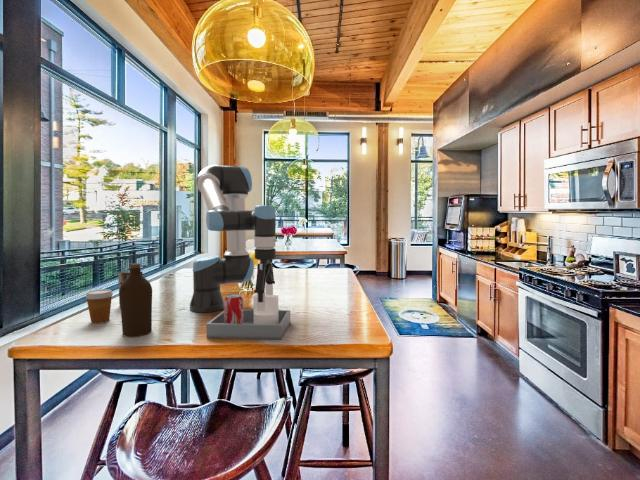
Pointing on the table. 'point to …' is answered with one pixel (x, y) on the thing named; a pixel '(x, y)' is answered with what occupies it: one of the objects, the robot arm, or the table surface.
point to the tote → (248, 327)
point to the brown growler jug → (136, 304)
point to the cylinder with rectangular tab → (267, 310)
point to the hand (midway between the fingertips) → (265, 305)
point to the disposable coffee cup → (99, 305)
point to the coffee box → (123, 278)
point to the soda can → (233, 309)
